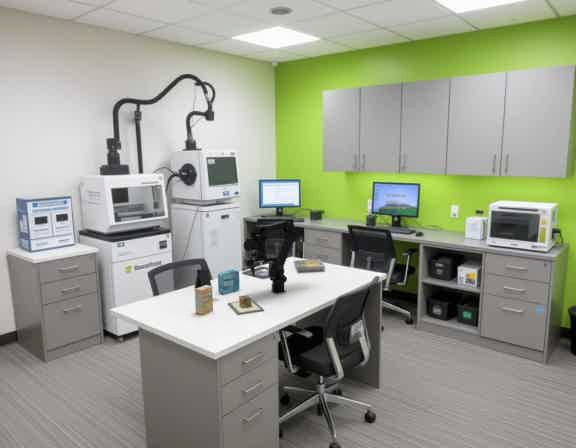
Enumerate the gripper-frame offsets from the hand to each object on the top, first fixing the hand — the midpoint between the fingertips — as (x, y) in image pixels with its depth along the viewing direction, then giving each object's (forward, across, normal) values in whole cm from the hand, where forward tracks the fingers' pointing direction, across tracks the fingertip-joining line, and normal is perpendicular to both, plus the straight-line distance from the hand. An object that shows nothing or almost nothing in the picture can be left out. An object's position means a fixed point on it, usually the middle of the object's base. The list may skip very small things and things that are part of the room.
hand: (261, 275), depth 252 cm
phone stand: (+12, +26, -30) cm, 42 cm away
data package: (+12, +14, -17) cm, 25 cm away
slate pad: (+12, +14, +13) cm, 23 cm away
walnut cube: (+11, +14, +13) cm, 22 cm away
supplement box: (+12, +35, +11) cm, 39 cm away
